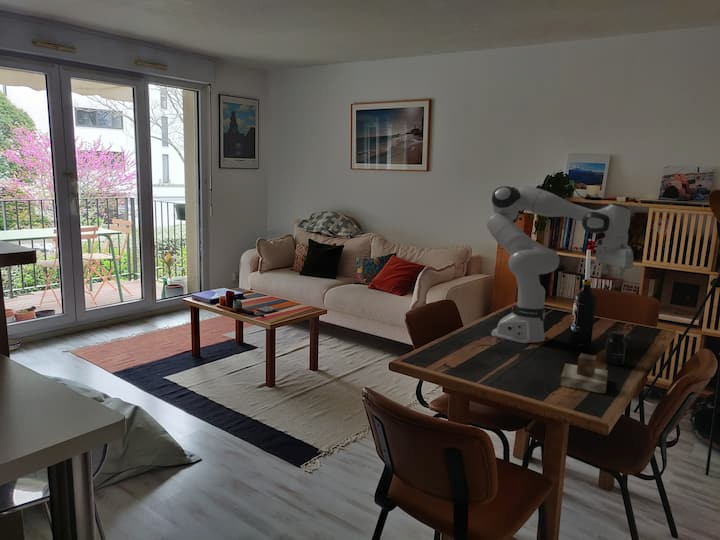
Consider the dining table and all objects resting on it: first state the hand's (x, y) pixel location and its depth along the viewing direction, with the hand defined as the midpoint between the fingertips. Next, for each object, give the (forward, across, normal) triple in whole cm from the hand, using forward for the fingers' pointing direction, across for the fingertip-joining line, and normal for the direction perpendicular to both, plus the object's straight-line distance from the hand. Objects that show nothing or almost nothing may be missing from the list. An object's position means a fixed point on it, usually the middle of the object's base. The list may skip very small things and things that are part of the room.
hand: (612, 275), depth 230 cm
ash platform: (+30, -41, +36) cm, 63 cm away
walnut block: (+26, -42, +36) cm, 61 cm away
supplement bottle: (+29, -24, +13) cm, 40 cm away
